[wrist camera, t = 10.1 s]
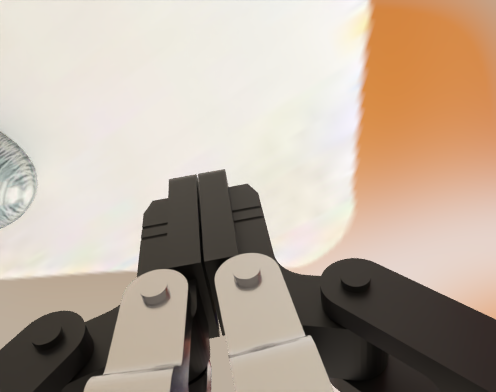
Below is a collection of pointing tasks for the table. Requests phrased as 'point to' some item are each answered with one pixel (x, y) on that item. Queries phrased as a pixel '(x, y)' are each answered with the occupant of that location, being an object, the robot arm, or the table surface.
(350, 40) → the table surface
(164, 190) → the table surface
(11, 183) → the spool
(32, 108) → the table surface
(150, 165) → the table surface
